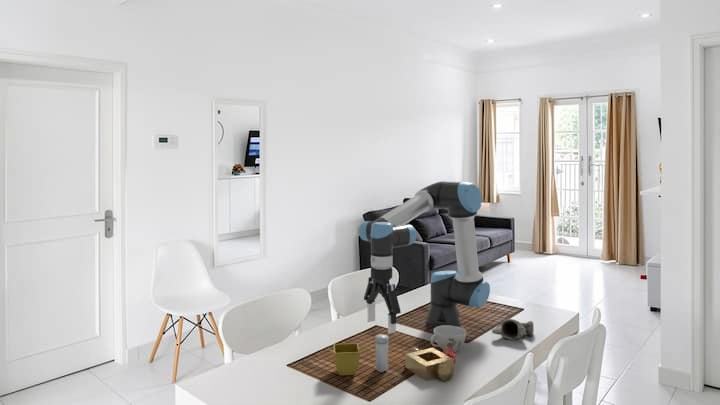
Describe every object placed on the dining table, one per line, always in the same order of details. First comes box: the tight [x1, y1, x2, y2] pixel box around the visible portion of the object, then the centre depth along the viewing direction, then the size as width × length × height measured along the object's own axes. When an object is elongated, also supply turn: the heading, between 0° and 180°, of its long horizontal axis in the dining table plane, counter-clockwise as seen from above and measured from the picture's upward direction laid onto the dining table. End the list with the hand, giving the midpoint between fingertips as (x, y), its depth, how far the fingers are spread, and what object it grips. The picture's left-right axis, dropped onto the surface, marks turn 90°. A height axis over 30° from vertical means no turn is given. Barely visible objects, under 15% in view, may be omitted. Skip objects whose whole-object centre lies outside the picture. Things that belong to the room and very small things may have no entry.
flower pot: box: [332, 342, 361, 376], centre depth 179 cm, size 9×9×9 cm
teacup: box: [430, 325, 468, 353], centre depth 199 cm, size 15×12×8 cm
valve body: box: [404, 346, 457, 382], centre depth 182 cm, size 20×15×6 cm
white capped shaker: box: [374, 334, 390, 373], centre depth 182 cm, size 5×5×12 cm
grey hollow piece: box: [491, 318, 534, 341], centre depth 212 cm, size 16×9×15 cm
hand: (381, 326), depth 180 cm, fingers open, 13 cm apart
